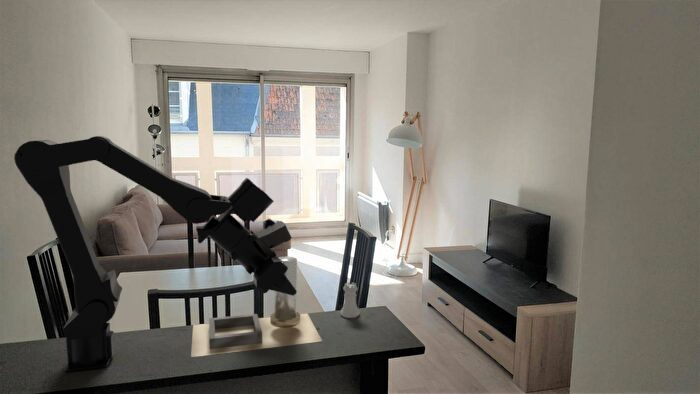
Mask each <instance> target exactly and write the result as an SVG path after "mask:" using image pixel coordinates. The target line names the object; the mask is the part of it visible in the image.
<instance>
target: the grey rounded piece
mask: <svg viewBox="0 0 700 394" xmlns="http://www.w3.org/2000/svg"><path fill="white" fill-rule="evenodd" d="M277 257H278V256H277ZM278 258H279V259H280V260H281V261H283V263H284V264H285V265H286V266H287V267H288V269H287V271H286V272H285V273H284V274H285V276H286V277H287V279H288V280H289V281H290V283H291V284H292V285H293V287H294V288H295V289H296V291H297V287H298V286H297V282H298V281H297V279H298V277H297V276H298V274H297V273H298V272H297V271H298V269H297V268H298V267H297V266H298V263H297V262H298V259H297V257H294V256H279V257H278ZM297 292H298V291H297ZM297 294H298V293H296V294H295V295H294V296H292V295H289V294H285V293H281V292H277V291H274V294H273V295H274V300H273V301H274V303H273V305H274V312H273V313H272V314H270V316H269V317H270V323H271V324H272V325H273V326H275V327H279V328H289V327H294V326H296V325H298V324H299V323H300V314H301V313H299V312H297Z"/></svg>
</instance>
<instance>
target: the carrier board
mask: <svg viewBox="0 0 700 394" xmlns="http://www.w3.org/2000/svg"><path fill="white" fill-rule="evenodd" d="M299 314H300V323H299V324H298V325H296V326H294V327H289V328H279V327H275V326H273V325H272V324H271V323H270V316H268V317H259V316H258V314H257V313H250V314H240V315H231V316H220V317H209V318H208V323H202V324H201V323H200V324H193V325H192V337H191V350H190V352H191V353H190V358H196V357H197V358H198V357H205V356H206V357H207V356H213V355H220V354H229V353H238V352H245V351H246V352H248V351H255V350H263V349H270V348H271V349H272V348H279V347H280V348H281V347H286V346H287V347H288V346H295V345H297V346H298V345H305V344H312V343H318V342H319V343H320V342H323V340H322V338H321V335H320V334H319V333H318V330H317V328H316V327H315V325H314V323H313V321H312V320H311V317H310V316H309V313H299Z"/></svg>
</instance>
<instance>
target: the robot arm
mask: <svg viewBox="0 0 700 394" xmlns="http://www.w3.org/2000/svg"><path fill="white" fill-rule="evenodd" d="M91 161H96V162H99V163H101V164H102V165H103V166H105V167H107V168H109V169H111V170H113V171H114V172H116V173H117V174H119V175H121V176H123V177H124V178H127V179H129V180H130V181H132V182H134V183H135V184H137V185H138V186H141V187H143V188H144V189H145V190H148V191H149V192H151V193H152V194H154V195H156V196H158V197H160V199H162V200H163V201H164V202H165V203H166V204H167V205H168V206H169V207H171V208H172V209H173V210H174V211H175V212H176V213H177V214H179V216H181V217H182V218H183V219H185V220H186V221H187V222H189V223H192V224H195V225H196V226H195V230H196V232H197V233H196V234H197V236H196V239H197V243H198V244H202V243H203V242H204V241H205V240H206V239H207V238H210V239H211V240H212V241H213V242H214V243H216V244H217V246H219V247H220V248H221V249H223V250H224V251H225V252H226V253H227V254H228V255H229V257H230V259H232V260H233V261H234V262H235V261H236V262H237V263H238V264H240V265H241V267H243V268H244V269H245V271H246V273H248V274H249V275H252V274H253V283H254V285H255V287H256V289H258V290H259V292H261V293H262V294H266V293H268V292H269V291H277V292H281V293H285V294H289V295H292V296H294V295H295V294H296V293H297V292H298V291H296V289H295V288H294V287H293V285H292V284H291V283H290V281H289V280H288V279H287V277H286V276H285V274H284V273H285V272H286V271H287V269H288V267H287V266H286V265H285V264H284V263H283V261H281V260H280V259H279V258H278V256H277V253H276V251H275V250H272V249H273V248H276V247H278V246H280V245H282V244H283V243H287V242H289V241H291V240H292V238H293V237H292V235H291V233H290V230H289V229H288V227H287V225H286V223H285V222H283V220H276V222H275V221H274V220H272V219H271V218H267V219H265V220H263V221H262V228H261V229H260V231H258V232H257V233H255V232H254V231H253V230H251V229H247V228H246V227H245V226H244V225H243V224H242V223H241V222H240V221H239V220H238V219H240V220H241V221H242V222H244V223H245V224H246V223H247V222H248V223H250V222H252V223H255V221H256V220H257V219H259V217H260V216H261V215H262V214H263V213H264V212H265V211H266V210H267V209H268V208H269V207H271V205H272V204H273V203H274V200H273V199H272V198H271V197H270V196H269V195H268V193H266V192H265V191H264V190H263V189H262V188H261V187H259V186H257V185H256V184H255V183H254V182H253V181H252V180H250V178H249V177H245V178H244V180H243V181H242V182H241V183H240V185H239V186H238V187H237V188H236V189H235V190H234V191H232V193H231V194H230V195H229V196H225V195H216V194H215V195H214V194H210V193H209V192H208V191H207V190H205V189H203V188H201V187H198V186H196V185H193V184H190V183H188V182H185V181H182V180H178V179H176V178H174V177H171V176H169V175H168V174H166V173H164V172H163V171H162V170H159V169H157V167H154V166H153V165H151V164H149V163H147V162H145V160H143V159H141V158H139V157H138V156H136V155H134V154H133V153H131V152H130V151H128V150H126V149H124V148H122V147H120V146H119V145H118V144H116V143H114V142H113V141H112V140H111V139H110V138H108V137H106V136H104V135H103V136H102V135H98V136H97V135H95V136H91V137H90V138H87V139H80V140H74V141H68V142H67V141H66V142H62V143H58V142H55V141H54V140H49V139H41V140H40V139H39V140H29V141H26V142H23V143H22V144H21V145H20V146H19V147H18V148H17V150H16V152H15V153H14V164H15V165H16V167H17V169H18V171H19V172H20V174H21V175H22V177H23V178H24V180H25V182H26V183H27V185H28V186H30V188H31V189H32V190H33V192H35V193H36V194H37V195H38V197H39V198H40V199H41V201H42V203H43V206H44V209H45V210H46V213H47V215H48V217H49V220H50V224H51V225H52V228H53V230H54V232H55V234H56V237H57V240H58V242H59V245H60V248H61V250H62V252H63V254H64V257H65V260H66V262H67V264H68V268H69V270H70V272H71V275H72V277H73V296H74V302H75V309H74V310H73V311H72V313H71V314H70V316H69V318H68V319H67V321H66V323H65V324H64V326H63V328H62V332H63V334H64V336H65V342H66V359H67V364H66V366H65V368H64V372H65V373H66V372H67V373H68V372H75V371H85V370H92V369H93V370H94V369H101V368H107V367H108V366H109V363H110V360H111V359H113V357H114V355H115V352H116V350H115V349H116V348H115V347H116V346H115V333H114V331H113V330H111V324H110V322H109V321H110V320H112V318H113V317H114V315H115V313H116V310H117V308H118V305H119V302H120V298H121V293H122V290H123V287H122V286H121V285H120V284H119V282H118V279H117V273H116V270H115V269H112V270H110V271H108V272H107V271H106V270H105V269H104V268H103V267H102V266H101V264H100V262H99V260H98V257H97V255H96V253H95V250H94V248H93V243H92V242H91V240H90V236H89V234H88V232H87V229H86V227H85V224H84V221H83V219H82V216H81V214H80V211H79V208H78V205H77V204H76V201H75V199H74V195H73V192H72V190H71V177H70V176H71V174H70V173H71V171H70V166H71V165H77V164H81V163H86V162H91ZM231 213H234V214H235V215H236V216H237V217H238V219H236V218H235V217H234V216H233V215H232V214H231ZM216 215H217V216H218V217H217V216H216ZM202 223H205V224H204V225H198V224H202ZM297 294H298V293H297Z"/></svg>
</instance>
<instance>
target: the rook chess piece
mask: <svg viewBox="0 0 700 394" xmlns="http://www.w3.org/2000/svg"><path fill="white" fill-rule="evenodd" d="M342 289H343V291H344V294H343V296H344V303H343V307H342V308H341V310H340V315H341V316H342V317H344V318H345V319H355V318H357V317H358V316H360V314H361V313H360V310H359V307H358V306H357V298H356V297H357V293H356V292H357V291H358V289H359V287H358V286H357V283H356V282H355V283H354V282H351V283H350V281H349V282H346V283H344V286H343V288H342Z"/></svg>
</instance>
